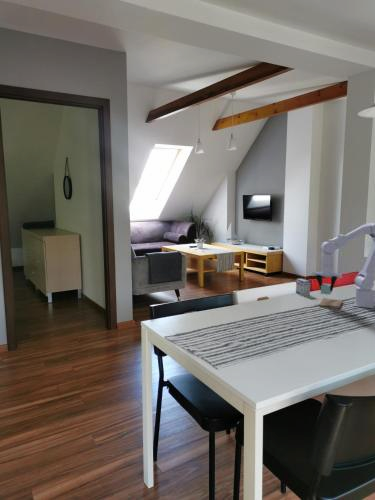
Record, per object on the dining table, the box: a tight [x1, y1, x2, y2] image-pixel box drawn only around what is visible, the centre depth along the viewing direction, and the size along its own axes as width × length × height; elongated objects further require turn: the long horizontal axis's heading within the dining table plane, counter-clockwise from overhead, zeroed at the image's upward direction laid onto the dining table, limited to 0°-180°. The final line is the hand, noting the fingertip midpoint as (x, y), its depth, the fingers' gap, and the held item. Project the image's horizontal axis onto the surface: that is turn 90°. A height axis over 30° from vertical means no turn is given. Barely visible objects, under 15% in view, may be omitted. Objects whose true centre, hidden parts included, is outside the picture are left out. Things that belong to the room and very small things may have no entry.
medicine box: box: [295, 278, 311, 297], centre depth 222 cm, size 8×4×9 cm, turn 17°
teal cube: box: [320, 283, 333, 296], centre depth 198 cm, size 4×4×4 cm
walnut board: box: [318, 298, 344, 310], centre depth 201 cm, size 10×14×1 cm
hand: (326, 290), depth 198 cm, fingers closed on teal cube, 5 cm apart
